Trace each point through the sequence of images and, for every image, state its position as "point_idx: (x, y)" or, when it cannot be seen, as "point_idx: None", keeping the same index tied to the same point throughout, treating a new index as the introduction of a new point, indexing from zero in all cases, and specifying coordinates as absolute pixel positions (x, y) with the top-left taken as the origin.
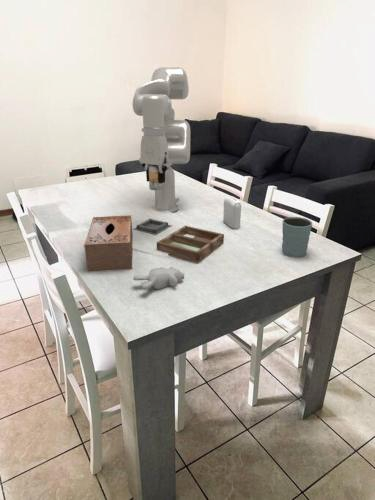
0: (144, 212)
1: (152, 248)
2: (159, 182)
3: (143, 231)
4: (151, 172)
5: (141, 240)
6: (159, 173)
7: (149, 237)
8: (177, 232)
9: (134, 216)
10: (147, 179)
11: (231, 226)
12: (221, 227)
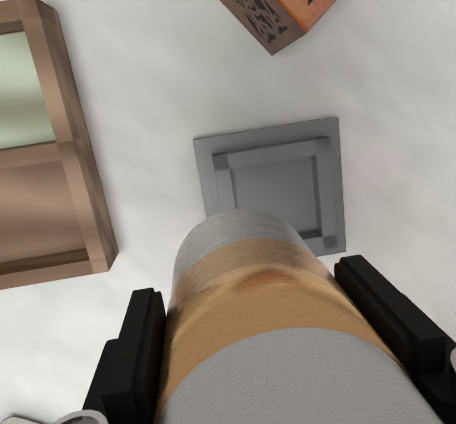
0: (444, 315)
1: (107, 29)
2: (140, 291)
3: (273, 133)
4: (268, 322)
5: (220, 65)
6: (109, 388)
7: (217, 119)
8: (68, 182)
9: (452, 254)
10: (354, 266)
11: (15, 422)
12: (59, 399)
